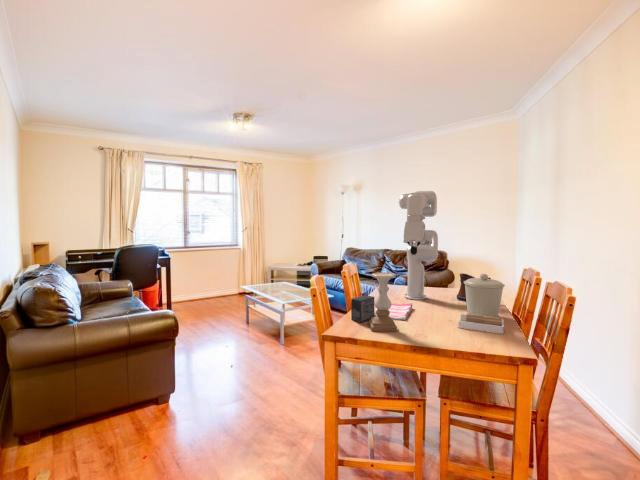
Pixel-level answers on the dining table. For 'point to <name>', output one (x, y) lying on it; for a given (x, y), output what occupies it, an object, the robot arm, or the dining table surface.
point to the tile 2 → (493, 320)
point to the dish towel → (398, 311)
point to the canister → (483, 295)
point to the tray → (480, 326)
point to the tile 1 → (475, 318)
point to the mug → (463, 286)
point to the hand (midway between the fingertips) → (413, 254)
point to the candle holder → (382, 306)
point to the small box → (362, 308)
